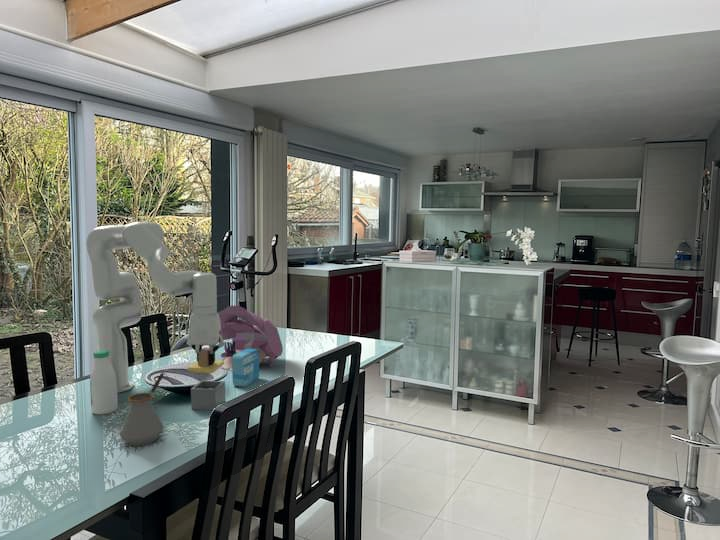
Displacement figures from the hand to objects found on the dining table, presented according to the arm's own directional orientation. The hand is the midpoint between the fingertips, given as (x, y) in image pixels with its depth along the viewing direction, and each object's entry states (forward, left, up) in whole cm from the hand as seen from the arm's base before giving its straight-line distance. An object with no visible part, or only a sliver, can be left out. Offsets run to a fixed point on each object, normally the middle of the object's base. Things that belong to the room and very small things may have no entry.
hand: (206, 363), depth 171 cm
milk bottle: (-32, -9, -15) cm, 36 cm away
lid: (0, 0, -1) cm, 1 cm away
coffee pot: (-8, -23, -15) cm, 28 cm away
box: (0, 0, -14) cm, 14 cm away
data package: (+5, +23, -15) cm, 28 cm away
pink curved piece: (-3, +46, -15) cm, 48 cm away
